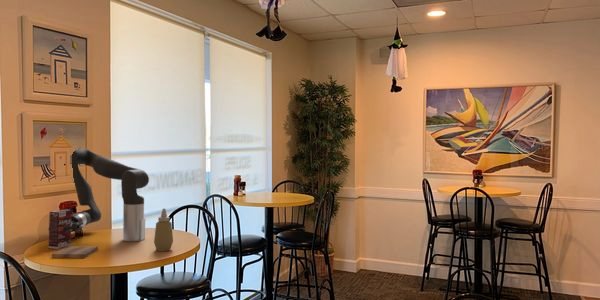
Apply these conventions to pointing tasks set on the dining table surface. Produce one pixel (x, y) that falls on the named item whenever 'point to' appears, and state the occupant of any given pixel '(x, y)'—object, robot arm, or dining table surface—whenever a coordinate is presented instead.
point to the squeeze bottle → (163, 233)
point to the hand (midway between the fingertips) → (57, 229)
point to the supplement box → (59, 228)
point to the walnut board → (75, 252)
